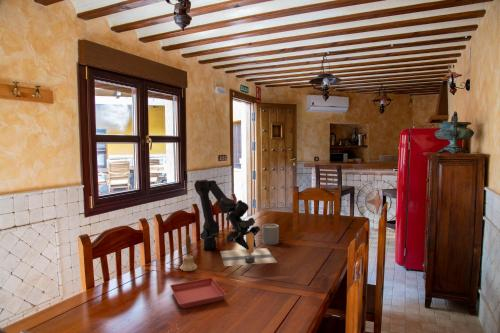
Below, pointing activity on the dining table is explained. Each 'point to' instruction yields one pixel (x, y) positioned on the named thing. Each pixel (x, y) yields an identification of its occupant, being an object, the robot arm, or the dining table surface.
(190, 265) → the hand bell
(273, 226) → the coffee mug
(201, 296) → the plant saucer
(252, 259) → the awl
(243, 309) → the dining table surface
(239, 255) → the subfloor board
